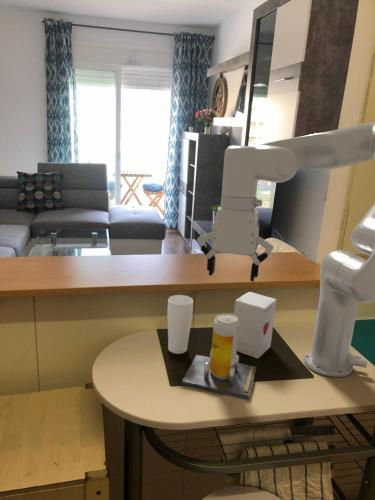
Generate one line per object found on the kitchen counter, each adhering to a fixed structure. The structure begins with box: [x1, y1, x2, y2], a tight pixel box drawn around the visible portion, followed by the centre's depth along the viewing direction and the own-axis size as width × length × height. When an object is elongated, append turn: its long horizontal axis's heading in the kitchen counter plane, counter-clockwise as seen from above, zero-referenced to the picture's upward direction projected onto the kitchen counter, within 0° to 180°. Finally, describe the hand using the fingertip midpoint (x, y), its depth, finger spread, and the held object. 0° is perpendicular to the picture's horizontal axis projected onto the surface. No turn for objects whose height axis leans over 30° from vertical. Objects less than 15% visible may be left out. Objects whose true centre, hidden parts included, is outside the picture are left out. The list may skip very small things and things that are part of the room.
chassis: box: [181, 350, 257, 401], centre depth 103 cm, size 16×13×5 cm
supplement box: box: [233, 291, 277, 360], centre depth 117 cm, size 9×9×15 cm
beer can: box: [210, 312, 240, 379], centre depth 102 cm, size 6×6×15 cm
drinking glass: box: [166, 294, 194, 355], centre depth 114 cm, size 7×7×15 cm
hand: (231, 276), depth 97 cm, fingers open, 9 cm apart
